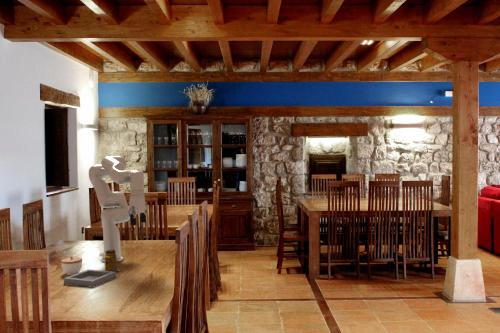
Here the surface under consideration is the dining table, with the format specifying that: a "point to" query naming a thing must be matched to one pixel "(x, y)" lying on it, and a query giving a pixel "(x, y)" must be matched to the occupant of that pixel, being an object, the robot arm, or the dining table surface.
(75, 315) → the dining table surface
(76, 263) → the lidded jar
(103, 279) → the tray
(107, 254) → the condiment
